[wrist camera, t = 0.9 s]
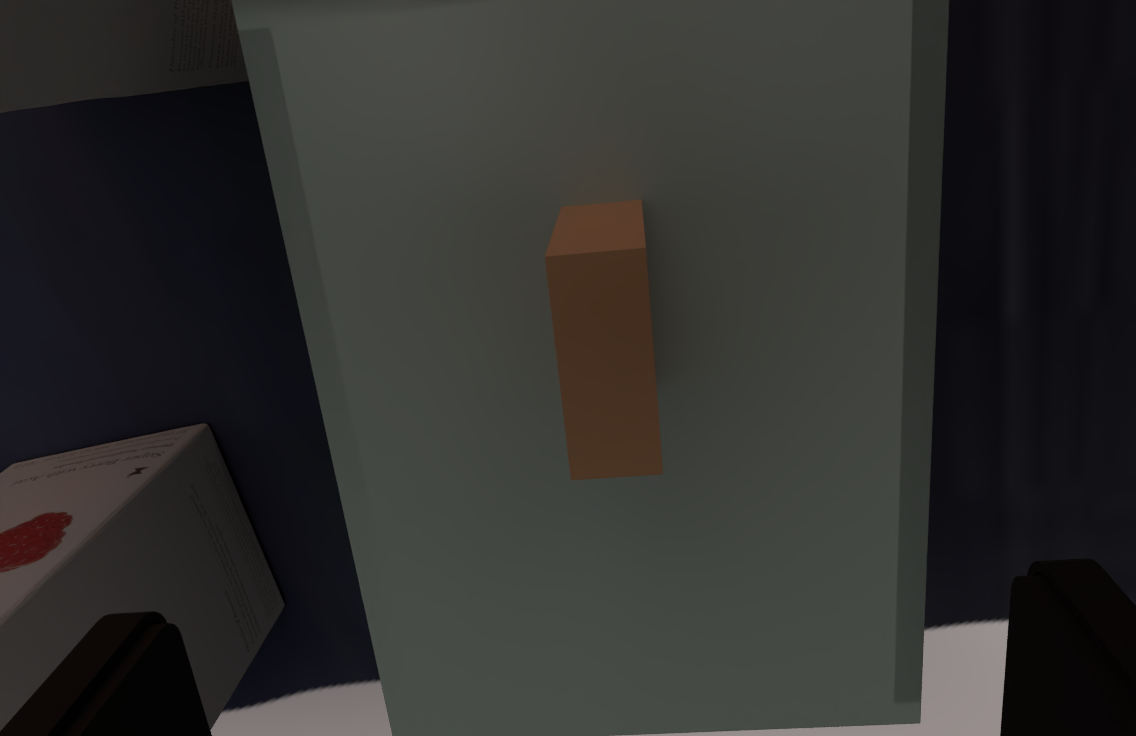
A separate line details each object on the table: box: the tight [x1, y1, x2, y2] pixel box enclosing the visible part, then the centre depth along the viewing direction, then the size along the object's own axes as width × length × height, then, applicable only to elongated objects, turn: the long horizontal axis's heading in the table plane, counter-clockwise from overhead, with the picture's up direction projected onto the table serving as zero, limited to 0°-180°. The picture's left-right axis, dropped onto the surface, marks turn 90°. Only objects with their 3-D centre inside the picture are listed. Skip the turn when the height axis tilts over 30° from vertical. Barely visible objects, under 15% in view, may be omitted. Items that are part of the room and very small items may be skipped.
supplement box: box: [0, 424, 285, 731], centre depth 31 cm, size 9×9×15 cm
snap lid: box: [231, 0, 949, 736], centre depth 23 cm, size 22×16×7 cm
